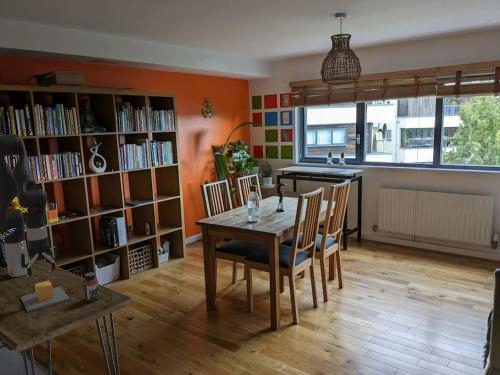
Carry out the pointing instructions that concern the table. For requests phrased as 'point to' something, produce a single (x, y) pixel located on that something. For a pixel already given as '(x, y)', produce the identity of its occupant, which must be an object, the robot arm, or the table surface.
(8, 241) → the robot arm
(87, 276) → the supplement bottle
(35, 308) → the thin gray plate
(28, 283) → the table surface
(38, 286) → the mustard foam cube
